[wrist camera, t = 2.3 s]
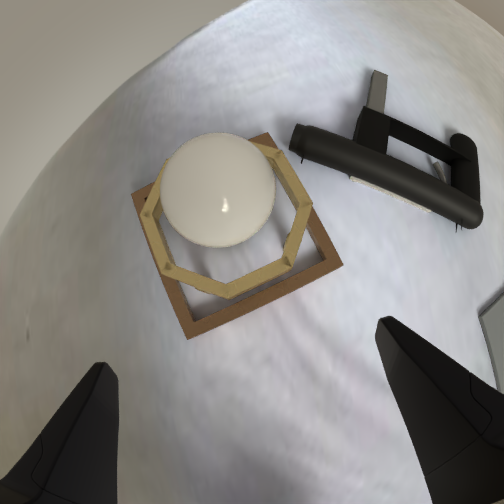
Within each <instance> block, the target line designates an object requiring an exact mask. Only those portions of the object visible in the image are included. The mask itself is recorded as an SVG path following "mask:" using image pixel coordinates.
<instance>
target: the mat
mask: <svg viewBox="0 0 504 504" xmlns="http://www.w3.org/2000/svg"><path fill="white" fill-rule="evenodd" d="M479 321H480V324H481V327H482V330H483V333H484V336H485V340H486V343H487V347H488V351H489V354H490V358H491V362H492V366H493V370H494V375H495V379H496V384H497V389H498V391H499V392H501V393H503V394H504V292H503V293H502V294H501V295H500V297H499V298H498V299H497V300H496V301H495V302H494V303H493V304H492V305H491V306H490V307H489V308H488V309H487V310H485V311H484V312H483V313H482V314H481V315H480V316H479Z"/></svg>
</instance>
